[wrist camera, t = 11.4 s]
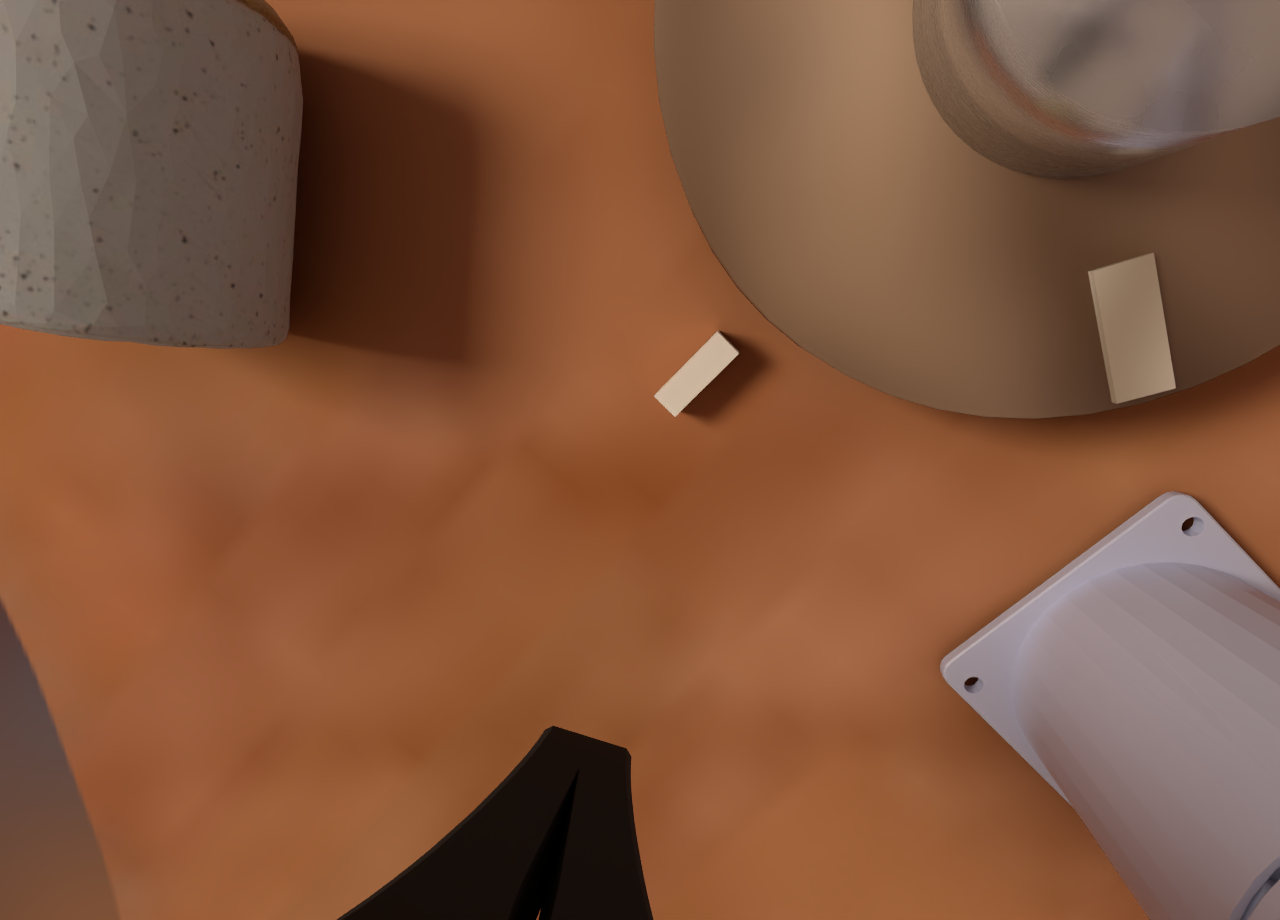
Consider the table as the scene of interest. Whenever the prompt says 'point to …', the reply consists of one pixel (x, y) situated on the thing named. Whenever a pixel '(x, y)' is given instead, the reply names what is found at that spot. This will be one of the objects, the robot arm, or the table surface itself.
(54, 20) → the ceramic mug
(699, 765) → the table surface
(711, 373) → the pointer
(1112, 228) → the tan bowl
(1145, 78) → the cover
